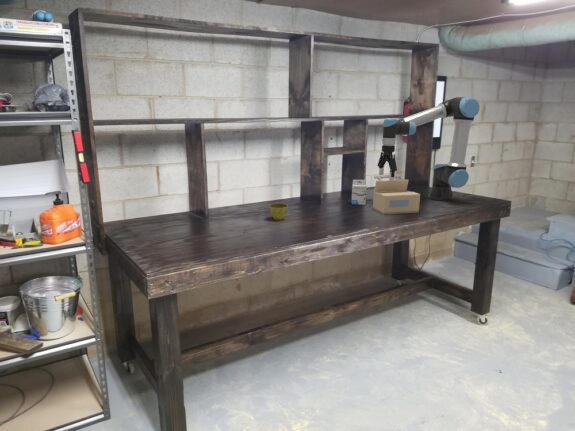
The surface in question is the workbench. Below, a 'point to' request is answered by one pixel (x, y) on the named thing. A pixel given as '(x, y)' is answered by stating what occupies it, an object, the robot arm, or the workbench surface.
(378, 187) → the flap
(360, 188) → the ink box
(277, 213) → the flower pot
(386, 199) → the carton
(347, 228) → the workbench surface
